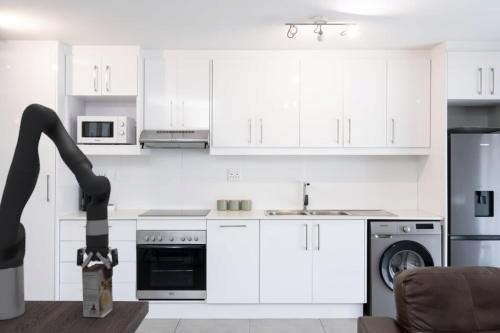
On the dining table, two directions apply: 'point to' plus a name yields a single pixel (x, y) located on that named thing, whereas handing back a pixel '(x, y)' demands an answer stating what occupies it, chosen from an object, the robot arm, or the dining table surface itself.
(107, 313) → the coaster
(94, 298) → the coffee box
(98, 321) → the dining table surface
